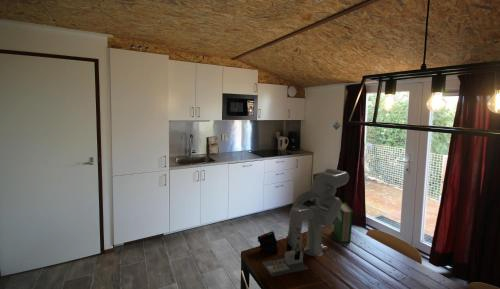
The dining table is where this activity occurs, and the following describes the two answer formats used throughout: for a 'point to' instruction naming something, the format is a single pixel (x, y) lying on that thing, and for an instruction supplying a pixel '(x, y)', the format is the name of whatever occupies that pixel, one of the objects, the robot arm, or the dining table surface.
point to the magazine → (268, 243)
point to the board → (282, 267)
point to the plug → (291, 255)
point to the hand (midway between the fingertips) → (292, 255)
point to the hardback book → (343, 223)
